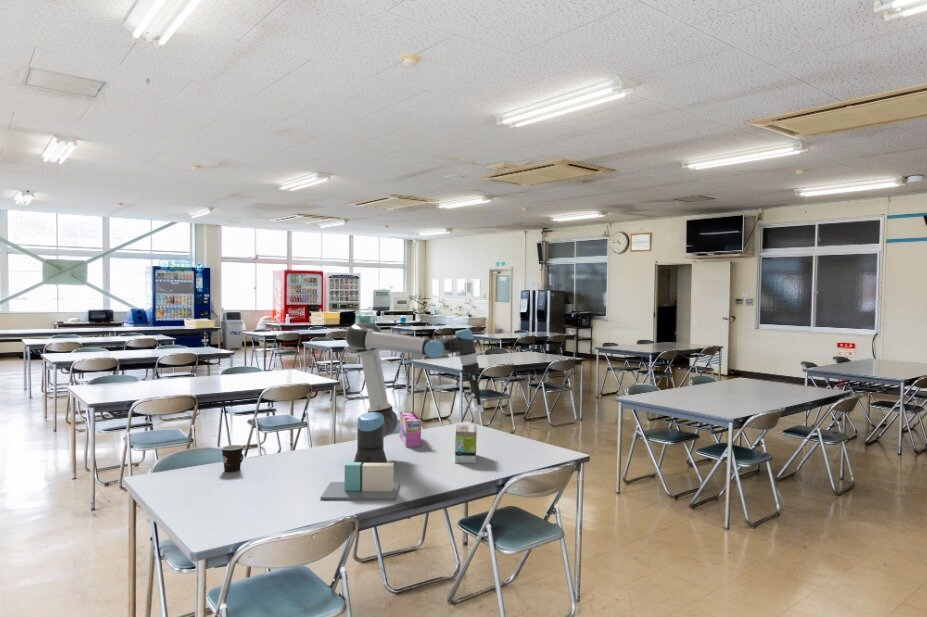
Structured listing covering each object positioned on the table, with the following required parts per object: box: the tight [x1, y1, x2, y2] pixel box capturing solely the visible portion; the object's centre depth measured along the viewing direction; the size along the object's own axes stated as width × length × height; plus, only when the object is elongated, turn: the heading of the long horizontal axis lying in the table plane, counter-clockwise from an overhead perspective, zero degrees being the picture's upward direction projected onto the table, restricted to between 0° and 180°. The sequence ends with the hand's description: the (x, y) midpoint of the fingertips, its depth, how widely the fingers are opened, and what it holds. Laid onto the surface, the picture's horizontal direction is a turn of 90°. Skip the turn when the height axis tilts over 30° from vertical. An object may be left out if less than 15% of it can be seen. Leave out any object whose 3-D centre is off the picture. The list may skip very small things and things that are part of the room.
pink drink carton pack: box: [399, 411, 422, 448], centre depth 312 cm, size 24×8×14 cm, turn 14°
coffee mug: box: [221, 444, 244, 473], centre depth 257 cm, size 12×9×10 cm
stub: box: [344, 461, 362, 491], centre depth 232 cm, size 6×4×10 cm, turn 91°
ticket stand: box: [320, 462, 400, 501], centre depth 232 cm, size 28×18×11 cm, turn 91°
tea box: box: [454, 424, 478, 464], centre depth 280 cm, size 15×10×15 cm, turn 179°
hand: (479, 409), depth 267 cm, fingers open, 13 cm apart
